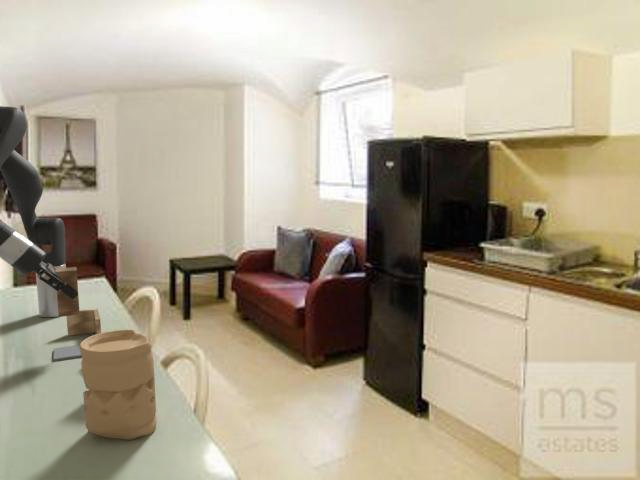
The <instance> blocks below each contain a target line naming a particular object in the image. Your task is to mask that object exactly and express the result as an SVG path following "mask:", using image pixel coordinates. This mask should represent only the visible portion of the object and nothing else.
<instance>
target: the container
mask: <svg viewBox="0 0 640 480" xmlns="http://www.w3.org/2000/svg"><path fill="white" fill-rule="evenodd" d="M79 345H80V353H81V355H82V357H81V358H82V359H81V362H80V363H81V365H80V366H81V374H82V378H83V379H82V380H83V382H84V385H85V388H86V389H87V390H85V391H84V392H83V393H82V394H83V408H84V421H85V422H84V423H85V428H86V429H87V433H88V434H91V435H96V436H101V437H102V438H109V439H110V438H111V439H121V440H128V441H129V440H130V441H131V440H135V439H136V438H140V437H143V436H149V435H150V434H153V433H155V431H156V428H157V415H156V413H157V403H156V402H157V401H156V381H155V363H154V355H153V352H152V345H151V343H150V340H149V337H147V336H146V335H144V333H137V332H136V331H135V330H134V329H130V328H129V329H126V328H125V329H116V330H109V331H104V332H101V333H99V334H93V335H91V336H88V337H86V338H84V339H83V340H82V341H80V343H79Z"/></svg>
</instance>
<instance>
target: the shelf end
mask: <svg viewBox="0 0 640 480" xmlns="http://www.w3.org/2000/svg"><path fill="white" fill-rule="evenodd" d="M79 312H80V315H72V316H66V327H67V336H75V335H82V334H89V333H90V334H91V333H94V335H96V334H99V333H102V328H101V327H102V325H101V324H102V323H101V318H100V317H101V316H100V312H99V308H91V309H90V308H89V309H79Z"/></svg>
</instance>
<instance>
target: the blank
mask: <svg viewBox="0 0 640 480" xmlns="http://www.w3.org/2000/svg"><path fill="white" fill-rule="evenodd" d="M55 272H56V273H57V274H58V275H60V276H61V279H62V280H63V281H64V282H66V283H67V284H68V285H69V286H71V287H72V288H73V289H75V290H76V291H77V292H78V293H79V285H78V269H77V266H73V267H66V268H58V269H56V271H55ZM58 284H59V282H58V281H57V282H56V285H58ZM57 301H58V314H59V316H58V318H60V317H67V316H72V315H80V312H79V310H80V302H79V301H80V299H79V294H78V295H77V296H76V297H75V298H74V299H71V298H70V297H69V296H67V295H66V294H64V293H63V292H62V291H57Z"/></svg>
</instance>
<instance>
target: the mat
mask: <svg viewBox="0 0 640 480" xmlns="http://www.w3.org/2000/svg"><path fill="white" fill-rule="evenodd" d="M77 358H79V359H80V358H83V357H82V355H81V353H80V344H75V345H68V346H62V347H54V348H53V362H57V361H64V360H72V359H77Z"/></svg>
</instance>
